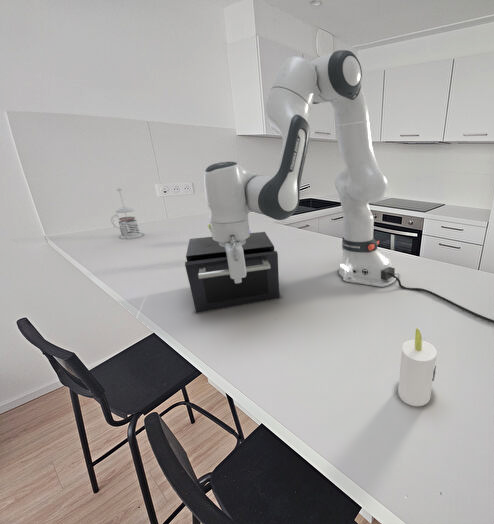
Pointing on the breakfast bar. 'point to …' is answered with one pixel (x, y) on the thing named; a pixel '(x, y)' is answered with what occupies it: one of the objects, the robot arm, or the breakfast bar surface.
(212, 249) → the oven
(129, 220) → the french press
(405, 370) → the candle
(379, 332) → the breakfast bar surface
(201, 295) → the oven door
